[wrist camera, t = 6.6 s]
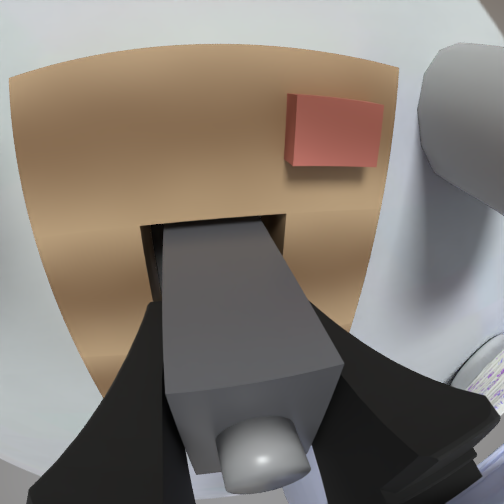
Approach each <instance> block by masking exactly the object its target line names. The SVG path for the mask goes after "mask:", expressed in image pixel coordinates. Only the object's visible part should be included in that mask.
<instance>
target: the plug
mask: <svg viewBox="0 0 504 504" xmlns="http://www.w3.org/2000/svg"><path fill="white" fill-rule="evenodd" d="M162 329H163V360H164V380H165V394H166V397H167V400H168V403H169V406H170V409H171V412H172V415H173V417H174V420H175V423H176V426H177V428H178V431H179V434H180V436H181V439H182V441H183V444H184V447H185V449H186V452H187V454H188V456H189V459H190V461H191V464H192V466H193V468H194V471H195V473H196V475H198V474H207V473H215V472H222V475H223V480H224V484H225V488H226V491H227V492H229V493H233V494H254V493H261V492H266V491H270V490H275V489H278V488H281V487H284V486H287V485H289V484H292V483H294V482H296V481H298V480H300V479H302V478H303V477H305V476H306V475H307V474H308V473H309V472H310V471H311V467H310V464H309V462H308V459H307V457H306V454H307V453H308V451H309V449H310V446H311V444H312V442H313V440H314V438H315V435H316V433H317V431H318V429H319V426H320V424H321V422H322V419H323V417H324V415H325V412H326V410H327V408H328V405H329V403H330V400H331V398H332V395H333V393H334V390H335V387H336V385H337V382H338V380H339V377H340V374H341V372H342V369H343V366H344V362H343V360H342V358H341V357H340V355H339V353H338V351H337V349H336V348H335V346H334V344H333V342H332V341H331V339H330V337H329V335H328V334H327V332H326V330H325V328H324V327H323V325H322V323H321V321H320V320H319V318H318V316H317V314H316V313H315V311H314V309H313V308H312V306H311V304H310V302H309V301H308V299H307V297H306V295H305V294H304V292H303V290H302V289H301V287H300V285H299V283H298V282H297V280H296V278H295V277H294V275H293V273H292V272H291V270H290V268H289V266H288V265H287V263H286V261H285V260H284V258H283V256H282V255H281V253H280V251H279V250H278V248H277V246H276V245H275V243H274V241H273V240H272V238H271V236H270V234H269V233H268V231H267V229H266V228H265V226H264V224H263V223H262V221H261V220H260V218H259V216H258V215H257V216H244V217H231V218H218V219H206V220H195V221H184V222H173V223H164V232H163V264H162Z"/></svg>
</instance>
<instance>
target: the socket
mask: <svg viewBox="0 0 504 504" xmlns="http://www.w3.org/2000/svg"><path fill="white" fill-rule="evenodd" d="M398 75H399V68H398V67H394V66H390V65H386V64H382V63H378V62H374V61H369V60H365V59H360V58H355V57H350V56H345V55H339V54H333V53H327V52H320V51H313V50H306V49H297V48H288V47H277V46H264V45H244V44H193V45H174V46H160V47H150V48H140V49H132V50H125V51H118V52H111V53H105V54H100V55H94V56H89V57H84V58H79V59H75V60H70V61H66V62H62V63H58V64H54V65H50V66H47V67H43V68H40V69H36V70H33V71H29V72H26V73H23V74H20V75H17V76H14V77H11V78H9V92H10V108H11V119H12V129H13V137H14V144H15V151H16V158H17V164H18V169H19V175H20V180H21V185H22V190H23V194H24V199H25V203H26V207H27V211H28V215H29V219H30V223H31V227H32V230H33V234H34V237H35V241H36V244H37V248H38V251H39V254H40V257H41V260H42V263H43V266H44V269H45V272H46V275H47V278H48V280H49V283H50V286H51V289H52V291H53V294H54V296H55V299H56V302H57V304H58V307H59V309H60V311H61V314H62V316H63V319H64V321H65V323H66V326H67V328H68V330H69V332H70V334H71V337H72V339H73V341H74V343H75V345H76V347H77V349H78V351H79V353H80V355H81V358H82V359H83V361H84V363H85V365H86V367H87V369H88V371H89V373H90V375H91V377H92V379H93V381H94V382H95V384H96V386H97V388H98V390H99V391H100V393H101V395H102V397H103V398H104V397H105V395H106V393H107V392H108V390H109V388H110V387H111V385H112V383H113V381H114V380H115V378H116V376H117V374H118V372H119V370H120V368H121V366H122V364H123V362H124V360H125V358H126V356H127V354H128V352H129V350H130V348H131V346H132V343H133V341H134V339H135V337H136V335H137V332H138V330H139V327H140V325H141V322H142V320H143V317H144V314H145V312H146V308H147V305H148V304H149V303H150V302H155V301H162V295H161V289H160V283H159V278H158V272H157V265H156V259H155V252H154V246H153V239H152V231H151V225H152V224H162V223H173V222H184V221H195V220H206V219H218V218H231V217H244V216H257V215H261V221H262V223H263V224H264V226H265V228H266V229H267V231H268V233H269V234H270V236H271V238H272V240H273V241H274V243H275V245H276V246H277V248H278V250H279V251H280V253H281V255H282V256H283V258H284V260H285V261H286V263H287V265H288V266H289V268H290V270H291V272H292V273H293V275H294V277H295V278H296V280H297V282H298V283H299V285H300V287H301V289H302V290H303V292H304V294H305V295H306V297H307V299H308V300H309V301H310V302H311V303H312V304H314V305H315V306H316V307H317V308H318V309H320V310H321V311H322V312H323V313H324V314H326V315H327V316H328V317H329V318H330V319H332V320H333V321H334V322H335V323H337V324H338V325H339V326H341V327H342V328H343V329H345V330H346V331H347V332H349V331H350V328H351V325H352V322H353V318H354V315H355V312H356V308H357V305H358V301H359V297H360V294H361V290H362V287H363V283H364V279H365V275H366V271H367V267H368V263H369V259H370V255H371V251H372V247H373V242H374V238H375V233H376V229H377V224H378V219H379V214H380V209H381V204H382V199H383V193H384V188H385V182H386V176H387V170H388V164H389V157H390V150H391V143H392V136H393V128H394V119H395V110H396V100H397V88H398Z"/></svg>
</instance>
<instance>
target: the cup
mask: <svg viewBox="0 0 504 504" xmlns="http://www.w3.org/2000/svg"><path fill="white" fill-rule="evenodd" d="M417 111H418V119H419V128H420V137H421V146H422V148H423V150H424V152H425V154H426V156H427V158H428V160H429V163H430V165H431V167H432V169H433V171H434V173H436V174H437V175H439V176H440V177H442V178H443V179H445V180H446V181H447V182H449V183H450V184H452V185H453V186H455V187H457V188H459V189H461V190H462V191H464V192H466V193H468V194H469V195H471V196H473V197H474V198H476V199H478V200H480V201H481V202H483V203H484V204H486V205H488V206H489V207H491V208H493V209H494V210H496V211H497V212H499V213H500V214H502V215H503V216H504V47H500V46H492V45H483V44H473V43H457V44H454V45H452V46H449V47H446V48H444V49H441V50H439V52H438V53H437V55H436V56H435V58H434V59H433V61H432V63H431V64H430V66H429V67H428V69H427V70H426V72H425V73H424V77H423V82H422V88H421V93H420V99H419V104H418V109H417Z"/></svg>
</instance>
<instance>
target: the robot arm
mask: <svg viewBox="0 0 504 504" xmlns="http://www.w3.org/2000/svg"><path fill="white" fill-rule="evenodd" d="M308 301H309V300H308ZM309 302H310V301H309ZM310 304H311V306H312V308H313V309H314V311H315V313H316V314H317V316H318V318H319V320H320V321H321V323H322V325H323V327H324V328H325V330H326V332H327V334H328V335H329V337H330V339H331V341H332V342H333V344H334V346H335V348H336V349H337V351H338V353H339V355H340V357H341V358H342V360H343V362H344V366H343V369H342V372H341V374H340V377H339V380H338V382H337V385H336V387H335V390H334V393H333V395H332V398H331V400H330V403H329V405H328V408H327V410H326V412H325V415H324V417H323V419H322V422H321V424H320V426H319V429H318V431H317V433H316V435H315V438H314V440H313V442H312V444H311V446H310V449H309V451H308V453H307V454H306V457H307V459H308V462H309V464H310V467H311V471H310V472H309V473H308V474H307V475H306V476H305V477H303V478H302V479H300V480H298V481H296V482H294V483H292V484H289V485H287V486H284V487H282V488H283V491H284V494H285V497H286V499H287V501H288V503H289V504H504V443H503V444H502V445H501V446H500V447H499V448H497V449H496V450H495V451H494V452H493V453H491V454H490V455H489V456H488V457H487V458H486V459H485V460H483V461H482V462H481V463H480V464H478V465H477V466H476V464H475V462H474V461H473V459H474V458H475V457H476V456H477V453H476V452H475V450H474V448H473V447H474V446H475V445H476V444H477V443H479V442H480V440H482V439H483V438H484V437H485V436H486V435H487V434H488V433H489V432H490V431H491V430H492V429H493V428H494V427H495V426H496V425H497V424H498V423H499V421H500V415H499V414H498V412H497V411H496V410H495V408H494V407H493V405H492V404H491V403H490V401H489V400H488V398H487V397H486V396H485V395H481V394H477V393H474V392H470V391H466V390H462V389H459V388H455V387H452V386H449V385H446V384H444V383H441V382H438V381H435V380H433V379H430V378H428V377H425V376H423V375H421V374H419V373H416V372H414V371H412V370H410V369H408V368H406V367H404V366H402V365H400V364H398V363H396V362H394V361H392V360H391V359H389V358H387V357H385V356H384V355H382V354H380V353H379V352H377V351H375V350H374V349H372V348H370V347H369V346H367V345H366V344H364V343H363V342H361V341H360V340H359V339H357V338H356V337H354V336H353V335H351V334H350V333H349V332H347V331H346V330H345V329H343V328H342V327H341V326H339V325H338V324H337V323H335V322H334V321H333V320H332V319H330V318H329V317H328V316H327V315H326V314H324V313H323V312H322V311H321V310H320V309H318V308H317V307H316V306H315V305H314V304H312V303H311V302H310ZM26 504H196V503H195V498H194V494H193V489H192V484H191V479H190V474H189V469H188V463H187V457H186V451H185V447H184V444H183V441H182V439H181V436H180V434H179V431H178V428H177V426H176V423H175V420H174V417H173V415H172V412H171V409H170V406H169V403H168V400H167V397H166V394H165V380H164V360H163V329H162V301H155V302H150V303H149V304H148V305H147V308H146V312H145V314H144V317H143V320H142V322H141V325H140V327H139V330H138V332H137V335H136V337H135V339H134V341H133V343H132V346H131V348H130V350H129V352H128V354H127V356H126V358H125V360H124V362H123V364H122V366H121V368H120V370H119V372H118V374H117V376H116V378H115V380H114V381H113V383H112V385H111V387H110V388H109V390H108V392H107V393H106V395H105V397H104V398H103V400H102V401H101V403H100V405H99V406H98V408H97V409H96V411H95V412H94V413H93V415H92V416H91V418H90V419H89V421H88V422H87V424H86V425H85V426H84V428H83V429H82V431H81V432H80V433H79V434H78V436H77V437H76V438H75V439H74V441H73V442H72V443H71V444H70V445H69V447H68V448H67V449H66V450H65V452H64V453H63V454H62V455H61V456H60V458H59V459H58V460H57V461H56V462H55V463H54V464H53V465H52V466H51V467H50V468H49V469H48V470H47V471H46V472H45V473H44V474H43V475H42V477H41V478H40V479H39V480H38V481H37V482H36V483H35V484H34V485H33V486H31V487H30V489H29V492H28V498H27V503H26Z"/></svg>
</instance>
